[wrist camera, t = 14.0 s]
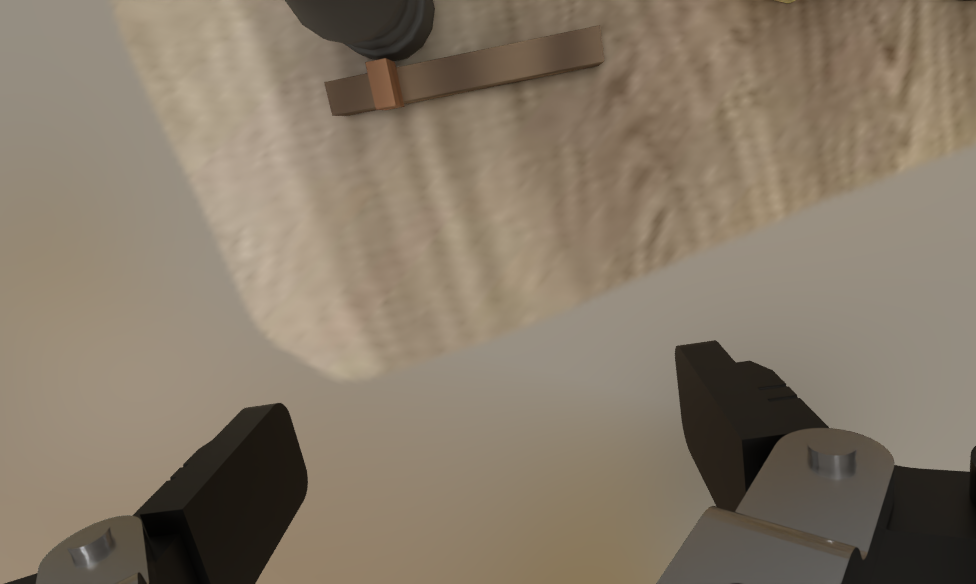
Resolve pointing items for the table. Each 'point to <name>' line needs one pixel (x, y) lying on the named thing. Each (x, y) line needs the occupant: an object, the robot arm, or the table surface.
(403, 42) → the candle holder
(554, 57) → the guide rails
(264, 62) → the table surface
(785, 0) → the candy box
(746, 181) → the table surface
